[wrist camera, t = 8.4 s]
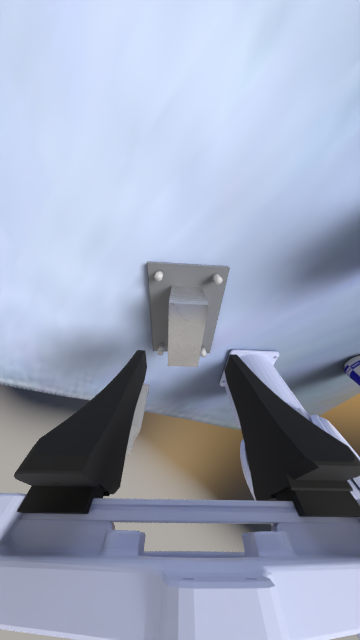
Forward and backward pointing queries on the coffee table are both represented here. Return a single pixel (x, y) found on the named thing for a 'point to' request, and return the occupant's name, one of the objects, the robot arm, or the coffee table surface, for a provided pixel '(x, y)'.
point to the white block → (186, 325)
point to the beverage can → (353, 369)
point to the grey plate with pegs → (183, 275)
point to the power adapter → (137, 417)
